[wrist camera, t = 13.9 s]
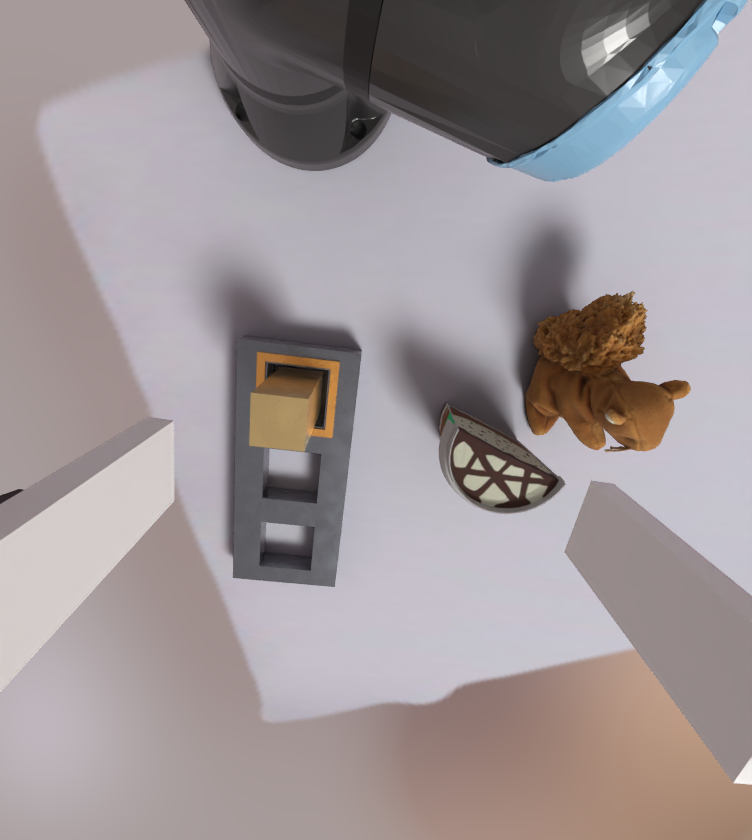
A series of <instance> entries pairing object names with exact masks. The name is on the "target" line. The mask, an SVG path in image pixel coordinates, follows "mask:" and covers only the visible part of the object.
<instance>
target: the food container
mask: <svg viewBox="0 0 752 840" xmlns="http://www.w3.org/2000/svg"><path fill="white" fill-rule="evenodd" d="M439 430H440V436H441V438H440V444H439V460H440V466H441V469H442V472H443V474H444V477H445V478H446V480H447V482H448V483H449V485H450V486H451V487H452V488H453V489H454V491H455V492H456V493H457V494H459V495H460V496H461V497H462V498H463V499H464V500H466V501H467V502H468V503H470V504H472V505H473V506H475V507H477V508H480V509H483V510H486V511H489V512H493V513H499V514H514V513H520V512H525V511H528V510H531V509H534V508H536V507H538V506H540V505H542V504H544V503H546V502H547V501H549V500H550V499H552V498H553V497H554V496H555V495H556V494H558V493H559V492H560V491H561V490H562V489H563V487H564V486H565V485H566V484H565V482H564V480H563V479H562V478H561V477H560V476H557V475H555V474H554V473H553V472H552V471H551V470H550V469H549V468H548V467H547V466H546V465H544V464H543V463H542V462H541V461H540V460H539V459H538V458H537V457H536V456H535V455H533V454H532V453H531V452H530V451H529V450H528V449H527V448H526V447H525V446H524V445H522V444H521V443H520V442H519V441H518V440H517V439H515V438H513V437H511V436H509V435H507V434H506V433H504V432H502V431H500V430H498V429H496V428H494V427H492V426H490V425H488V424H486V423H484V422H482V421H481V420H479V419H477V418H475V417H473V416H471V415H469V414H467V413H465V412H463V411H461V410H459V409H457V408H456V407H454V406H452V405H450V404H448V403H445V405H444V407H443V409H442V411H441V416H440V421H439Z"/></svg>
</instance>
